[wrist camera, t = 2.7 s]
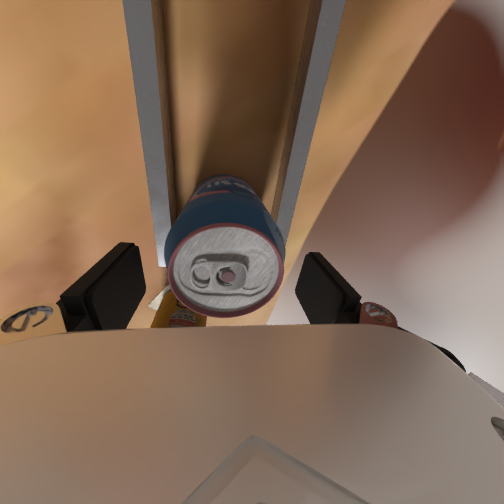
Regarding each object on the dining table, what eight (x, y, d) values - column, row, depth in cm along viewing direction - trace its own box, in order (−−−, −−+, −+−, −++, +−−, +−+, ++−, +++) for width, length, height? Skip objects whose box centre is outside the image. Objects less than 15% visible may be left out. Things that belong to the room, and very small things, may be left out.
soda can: (261, 175, 18) (310, 214, 8) (255, 238, 22) (283, 322, 11) (188, 170, 17) (136, 207, 7) (194, 237, 21) (164, 329, 10)
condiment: (148, 305, 25) (94, 420, 14) (186, 264, 22) (154, 367, 12) (193, 326, 28) (176, 432, 18) (231, 292, 25) (236, 392, 15)
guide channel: (111, -225, 9) (75, -348, 6) (356, -112, 11) (389, -175, 9) (165, 254, 21) (159, 266, 19) (274, 258, 23) (279, 270, 21)
